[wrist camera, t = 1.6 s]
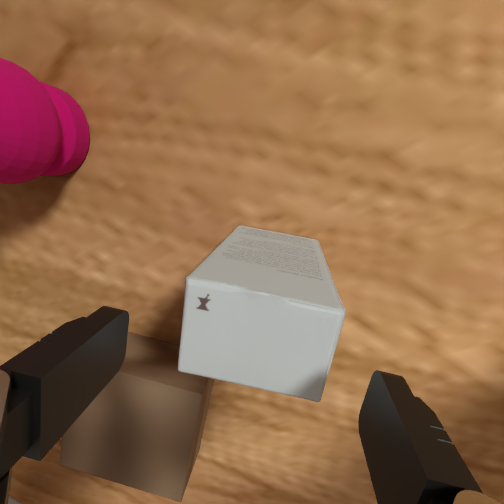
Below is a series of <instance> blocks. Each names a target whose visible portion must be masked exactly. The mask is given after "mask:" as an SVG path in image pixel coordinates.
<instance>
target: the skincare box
mask: <svg viewBox="0 0 504 504" xmlns="http://www.w3.org/2000/svg"><path fill="white" fill-rule="evenodd" d="M345 313H346V311H345V309H344V306H343V304H342V301H341V299H340V297H339V294H338V292H337V289H336V287H335V284H334V282H333V279H332V276H331V274H330V271H329V268H328V266H327V263H326V260H325V257H324V255H323V252H322V249H321V247H320V244H319V242H318V240H316V239H310V238H305V237H300V236H295V235H289V234H284V233H279V232H273V231H268V230H263V229H257V228H252V227H246V226H242V225H239V226H238V227H237V228H236V229H235V230H234V231H233V232H232V233H231V234H230V235H229V236H228V237H227V238H226V239H225V240H224V241H223V242H222V243H221V244H220V245H219V246H218V247H217V248H216V249H215V250H214V251H213V252H212V253H211V254H210V255H209V256H208V257H207V258H206V259H205V260H204V261H203V262H202V263H201V264H200V265H199V266H198V267H197V268H196V269H195V270H194V271H193V272H192V273H191V274H190V275H189V276H188V277H187V278H186V282H185V294H184V306H183V317H182V328H181V338H180V348H179V358H178V371H180V372H185V373H189V374H194V375H199V376H204V377H208V378H212V379H217V380H222V381H226V382H231V383H235V384H240V385H244V386H249V387H254V388H258V389H263V390H267V391H272V392H276V393H281V394H285V395H290V396H294V397H299V398H303V399H308V400H312V401H315V402H319V401H320V400H321V397H322V393H323V390H324V386H325V383H326V380H327V376H328V373H329V369H330V366H331V362H332V359H333V355H334V352H335V348H336V345H337V342H338V338H339V335H340V331H341V327H342V324H343V320H344V317H345Z"/></svg>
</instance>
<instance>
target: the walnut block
mask: <svg viewBox="0 0 504 504" xmlns="http://www.w3.org/2000/svg"><path fill="white" fill-rule="evenodd" d="M179 348H180V346H179V345H175V344H172V343H168V342H164V341H160V340H157V339H153V338H149V337H145V336H142V335H138V334H134V333H130V332H128V335H127V346H126V355H125V359H124V362H123V364H122V366H121V368H120V370H119V371H118V373H117V374H116V375H115V376H114V377H113V378H112V380H111V381H110V382H109V383H108V384H107V385H106V386H105V388H104V389H103V390H102V391H101V392H100V393H99V394H98V396H97V397H96V398H95V399H94V400H93V401H92V402H91V404H90V405H89V406H88V407H87V408H86V409H85V410H84V412H83V413H82V414H81V415H80V416H79V417H78V418H77V420H76V421H75V422H74V423H73V424H72V425H71V426H70V428H69V429H68V430H67V431H66V432H65V433H64V434H63V436H62V446H61V463H60V465H61V466H65V467H68V468H71V469H74V470H78V471H81V472H84V473H87V474H91V475H94V476H97V477H100V478H104V479H107V480H110V481H113V482H117V483H120V484H123V485H126V486H130V487H133V488H136V489H139V490H143V491H146V492H149V493H152V494H156V495H159V496H162V497H165V498H169V499H172V500H175V501H178V502H181V500H182V498H183V495H184V492H185V489H186V486H187V483H188V480H189V477H190V475H191V472H192V469H193V466H194V463H195V460H196V457H197V455H198V452H199V448H200V443H201V438H202V434H203V429H204V424H205V419H206V414H207V409H208V404H209V400H210V395H211V390H212V385H213V380H214V379H212V378H208V377H204V376H199V375H194V374H189V373H185V372H180V371H178V358H179Z"/></svg>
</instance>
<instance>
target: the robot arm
mask: <svg viewBox="0 0 504 504" xmlns="http://www.w3.org/2000/svg"><path fill="white" fill-rule="evenodd" d="M128 324H129V314H128V312H127V311H125V310H120V309H116V308H112V307H108V306H103V307H101V308H99V309H98V310H97V311H95V312H94V313H92V314H91V315H89V316H88V317H87V318H86V317H81V318H78V319H75V320H73V321H70V322H67V323H65V324H63V325H62V326H60V327H59V328H57V329H56V330H54V331H53V332H52V334H48V335H47V336H45V337H44V338H42V339H41V341H37V342H36V343H34V344H33V345H31V346H30V347H28V348H27V349H25V350H24V351H22V352H21V353H19V354H18V355H16V356H15V357H13V358H12V359H10V360H9V361H7V362H6V363H4V364H3V365H1V366H0V504H8V498H9V491H10V484H11V477H12V466H13V465H14V464H15V463H16V462H17V461H18V460H19V459H20V458H21V457H22V456H24V457H27V458H31V459H35V460H38V461H41V460H42V458H43V457H44V456H45V455H46V454H47V453H48V452H49V450H50V449H51V448H52V447H53V446H54V445H55V444H56V442H57V441H58V440H59V439H60V438H61V437H62V436H63V434H64V433H65V432H66V431H67V430H68V429H69V428H70V426H71V425H72V424H73V423H74V422H75V421H76V420H77V418H78V417H79V416H80V415H81V414H82V413H83V412H84V410H85V409H86V408H87V407H88V406H89V405H90V404H91V402H92V401H93V400H94V399H95V398H96V397H97V396H98V394H99V393H100V392H101V391H102V390H103V389H104V388H105V386H106V385H107V384H108V383H109V382H110V381H111V380H112V378H113V377H114V376H115V375H116V374H117V373H118V371H119V370H120V368H121V366H122V364H123V362H124V359H125V355H126V346H127V335H128ZM359 434H360V438H361V442H362V446H363V449H364V453H365V457H366V461H367V465H368V468H369V472H370V476H371V480H372V484H373V487H374V491H375V495H376V499H377V503H378V504H501V503H499V502H498V501H496V500H495V499H493V498H491V497H489V496H487V495H485V494H483V493H482V491H481V489H480V488H479V486H478V484H477V483H476V481H475V479H474V478H473V476H472V474H471V473H470V471H469V469H468V468H467V466H466V464H465V463H464V461H463V459H462V458H461V456H460V454H459V453H458V451H457V449H456V448H455V446H454V445H453V444H451V442H452V441H451V439H450V438H449V436H448V434H447V433H446V431H444V430H443V426H442V424H441V423H440V421H439V419H438V418H437V416H436V414H435V413H434V412H433V411H432V410H431V409H430V408H429V407H428V406H427V405H426V404H425V403H424V402H423V401H422V400H421V399H420V398H418V397H414V395H413V394H412V392H411V390H410V388H409V386H408V384H407V383H406V381H405V379H404V378H403V377H402V376H399V375H395V374H391V373H386V372H382V371H378V370H377V371H375V372H374V373H373V375H372V377H371V380H370V383H369V386H368V389H367V392H366V395H365V398H364V401H363V404H362V407H361V410H360V414H359Z"/></svg>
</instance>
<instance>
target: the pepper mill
mask: <svg viewBox="0 0 504 504" xmlns="http://www.w3.org/2000/svg"><path fill="white" fill-rule="evenodd" d="M89 142H90V134H89V126H88V123H87V120H86V117H85V115H84V113H83V111H82V109H81V107H80V106H79V105H78V103H77V102H76V101H75V100H74V99H73V98H72V97H71V96H70V95H69V94H68V93H66V92H64V91H63V90H61V89H59V88H56V87H53V86H51V85H48V84H45V83H43V82H40V81H38V80H37V79H36V78H35V77H34V76H33V75H31V74H30V73H29V72H28V71H27V70H25V69H23V68H22V67H20V66H18V65H16V64H15V63H13V62H10V61H8V60H5V59H2V58H0V183H6V184H17V183H23V182H27V181H30V180H33V179H35V178H36V177H38V176H60V175H65V174H68V173H70V172H72V171H73V170H75V169H77V168H78V166H79V165H80V164H81V163H82V162H83V161H84V159H85V157H86V155H87V152H88V148H89Z"/></svg>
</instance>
